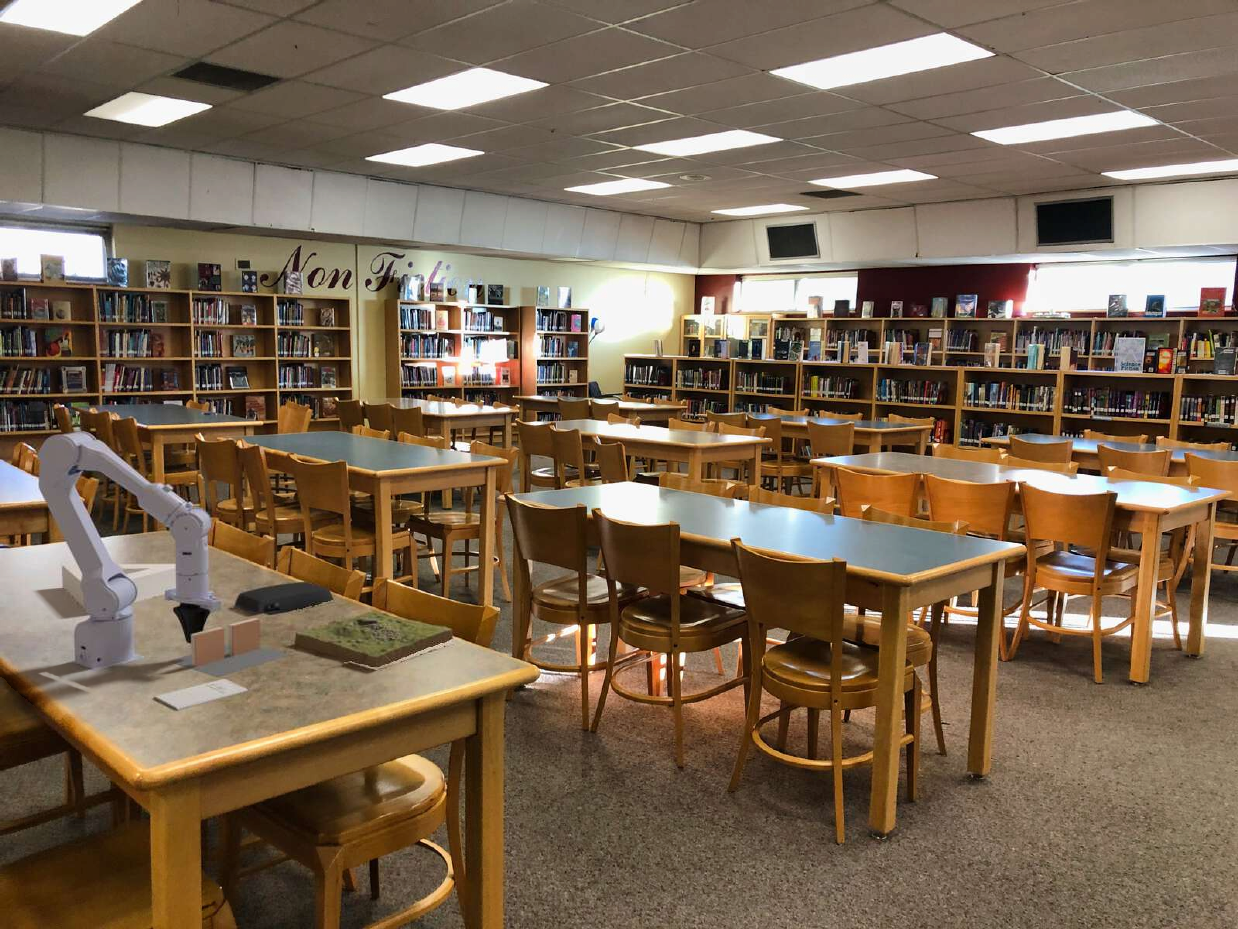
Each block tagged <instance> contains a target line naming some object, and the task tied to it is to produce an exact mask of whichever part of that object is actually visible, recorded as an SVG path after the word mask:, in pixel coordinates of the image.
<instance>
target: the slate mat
mask: <svg viewBox="0 0 1238 929" xmlns="http://www.w3.org/2000/svg"><path fill="white" fill-rule="evenodd" d="M288 656H291V654H289V653H285V652H282V651H280V650H279V651H278V650H276V649H271V648H268V647H264V646H261V645H260V649H257V650H253V651H250V652H246V653H243V654H240V655H236V656H231V655H229V643H228V644H225V659H222V660H219V661H215V662H212V663H209V664H205V665H202V666H198V667H195V666H192V665H191V654H188V655H185V656H181V657H178V658H174V659H169V660H168V662H170V663H173V664H175V665H179V666H181V667H185V668H189V669H191V670H194V671H198V672H201V673H204V674H207V675H209V676H210V675H211V676H214V677H217V678H220V677H223V676H226V675H230V674H233V673H235V672H240V671H243V670H247V669H249V668H253V667H255V666H258V665H262V664H265V663H268V662H272V661H274V660H278V659H282V658H284V657H285V658H286V657H288Z"/></svg>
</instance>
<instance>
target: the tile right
mask: <svg viewBox="0 0 1238 929" xmlns="http://www.w3.org/2000/svg"><path fill="white" fill-rule="evenodd" d="M260 624H261V621H260V618H256V617H253V618H250V619H244V620H242V621H237V622H233V623H230V624H228V644H229V655H231V656H236V655H240V654H243V653H246V652H250V651H253V650H257V649H260V646H261V630H260V629H261V626H260Z"/></svg>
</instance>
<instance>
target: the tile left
mask: <svg viewBox="0 0 1238 929" xmlns="http://www.w3.org/2000/svg"><path fill="white" fill-rule="evenodd" d="M225 642H226V641H225V628H224V627H221V626H219V627H214V628H210V629H206V630H203V631H202V632H198V633H194V634H191V645H190V647H191V648H190V650H191V652H190V653H191V654H190V655H191V665H192V666H195V667H198V666H202V665H205V664H209V663H212V662H215V661H219V660H222V659H225V645H226V644H225Z"/></svg>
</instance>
